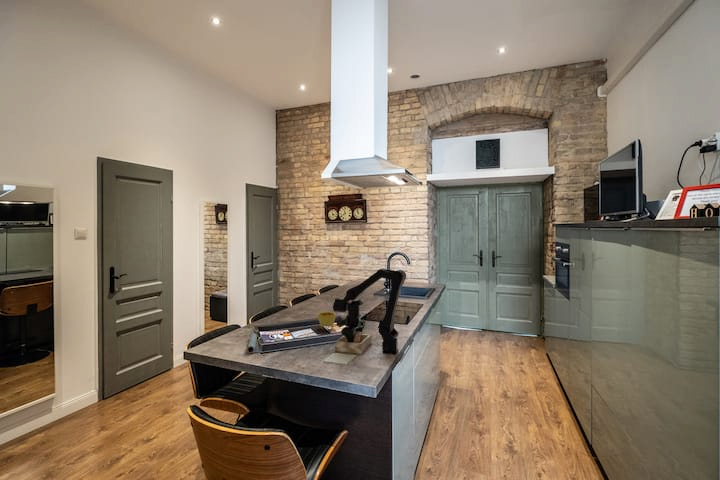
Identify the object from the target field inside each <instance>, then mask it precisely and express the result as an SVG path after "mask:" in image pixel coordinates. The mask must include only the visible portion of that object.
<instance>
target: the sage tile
mask: <svg viewBox="0 0 720 480" xmlns="http://www.w3.org/2000/svg"><path fill="white" fill-rule="evenodd" d="M355 358H356V354H349V353H337V352H333V353H331V355H329V356H328V357H326V358H325V359H324V360H323V363H326V364H335V365H343V366H347V365H349V364H350V363H351V362H352V361H353V360H354V359H355Z"/></svg>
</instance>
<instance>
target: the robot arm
mask: <svg viewBox="0 0 720 480" xmlns="http://www.w3.org/2000/svg"><path fill="white" fill-rule="evenodd" d="M381 279H385V280H387V281H388V280H389V281H390V292H389V296H388V301H387V305H386V309H385V315H384V316H383V317H382V318H380V319H379V323H378V326H377V329H378V334H379V335H380V337H381V338H382V342H381V350H382V354H389V355H391V354H392V355H396V354H397V353H398V351H399V348H398V345H399V344H398V336H399V332H398V330H396V328H395V314H396V309H397V304H398V301H399V298H400V297H399V296H400V292H401V289H402V287H403V285H404V284H405V282H406V279H407V273H406V272H405V271H404V270H402V269H397V270H395V269H393V270H392V269H386V268H379V269H377V271H376V272H374V273H373V274H372V275H371V276H368V278H367V279H365V280H363V281H362V282H360V284H358V285H355V286H353V287H351V288H349V289H347V290H346V292H345V296H344V298H339V297H336V298H335V299H334V302H333V305H332V310H333V313H346V312H347V315H346V316H345V317H344V318H338V319H336V322H335V323H336V324H335V325H336V326H338V328H341V327H343V328H342V329H341V330H340V331H341V332H340V334H341V335H342V336H343V335H344V336H345V337H346V338H347V341H348V342H352V343H353V342H354V339H355V335H356V334H355V333H356V331H359V332H361V334H363V331H364V329H365V327H366V322H365V321H364V320H363V319H362V320H360V318H361V317H362V315H361V314H360V306H362V305H364V302H363V301H362V300H361V299H359V298H361V297H362V295H364V293H365V292H366V290H367V289H369V288H370V287H371V286H373V285H375V284H376V283H377V282H378V281H379V280H381ZM356 299H358V300H356Z"/></svg>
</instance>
